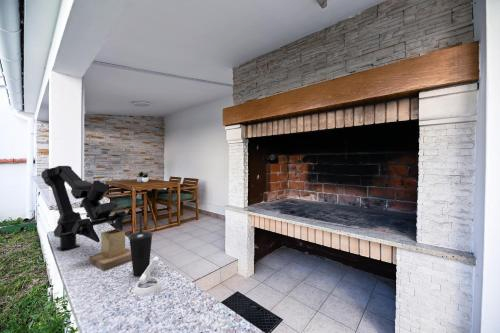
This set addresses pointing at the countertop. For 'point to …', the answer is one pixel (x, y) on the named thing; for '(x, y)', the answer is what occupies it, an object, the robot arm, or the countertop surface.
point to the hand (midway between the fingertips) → (111, 238)
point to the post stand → (110, 260)
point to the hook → (148, 280)
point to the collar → (112, 243)
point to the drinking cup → (140, 250)
